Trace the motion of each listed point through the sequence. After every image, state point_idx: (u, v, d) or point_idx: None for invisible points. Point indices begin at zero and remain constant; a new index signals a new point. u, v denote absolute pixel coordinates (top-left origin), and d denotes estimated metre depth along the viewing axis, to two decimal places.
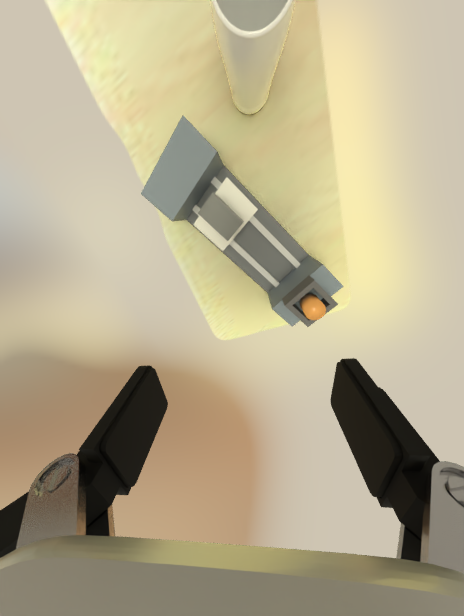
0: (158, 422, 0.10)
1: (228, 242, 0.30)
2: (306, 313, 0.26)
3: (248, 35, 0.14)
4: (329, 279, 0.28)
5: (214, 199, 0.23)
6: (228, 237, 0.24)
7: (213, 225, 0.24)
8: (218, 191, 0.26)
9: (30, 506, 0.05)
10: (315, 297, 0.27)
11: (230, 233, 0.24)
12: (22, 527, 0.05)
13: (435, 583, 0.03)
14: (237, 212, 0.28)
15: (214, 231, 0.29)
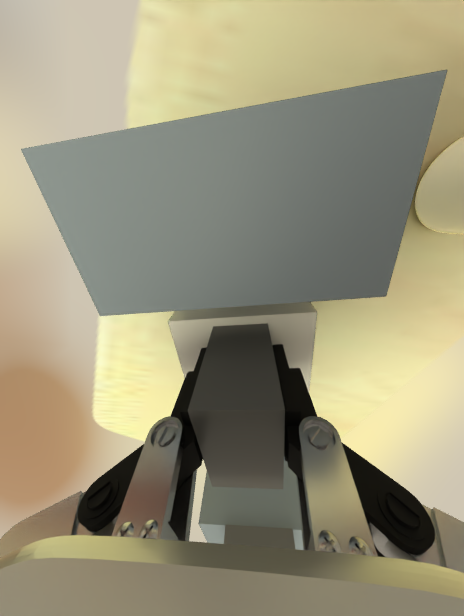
0: None
1: None
2: None
3: None
4: None
5: (270, 425, 0.06)
6: (221, 484, 0.08)
7: (207, 452, 0.07)
8: (275, 318, 0.10)
9: (146, 447, 0.06)
10: None
11: (233, 483, 0.08)
12: (137, 465, 0.06)
13: (435, 583, 0.03)
14: None
15: None
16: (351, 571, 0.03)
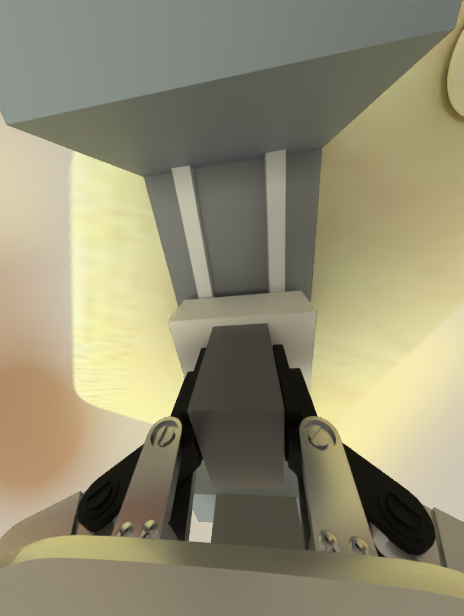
0: None
1: None
2: None
3: None
4: None
5: (270, 424, 0.06)
6: (221, 484, 0.08)
7: (207, 452, 0.07)
8: (275, 318, 0.10)
9: (145, 447, 0.06)
10: None
11: (233, 483, 0.08)
12: (137, 465, 0.06)
13: (435, 583, 0.03)
14: None
15: None
16: (351, 571, 0.03)
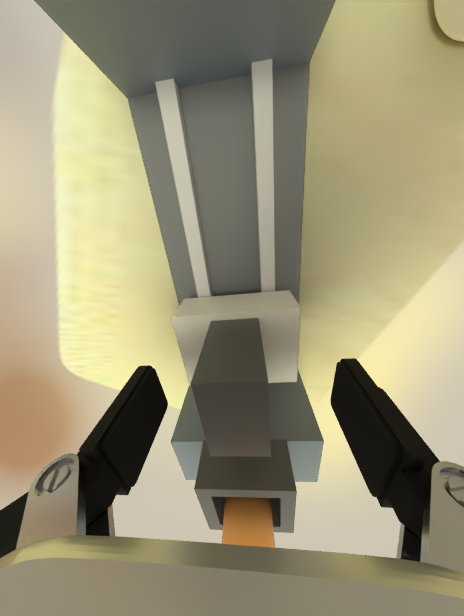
0: (158, 422, 0.10)
1: None
2: None
3: None
4: (308, 463, 0.13)
5: (257, 394, 0.07)
6: (218, 453, 0.09)
7: (206, 422, 0.08)
8: (265, 313, 0.11)
9: (29, 507, 0.05)
10: (268, 515, 0.10)
11: (228, 452, 0.09)
12: (22, 527, 0.05)
13: (435, 583, 0.03)
14: None
15: None
16: (351, 571, 0.03)
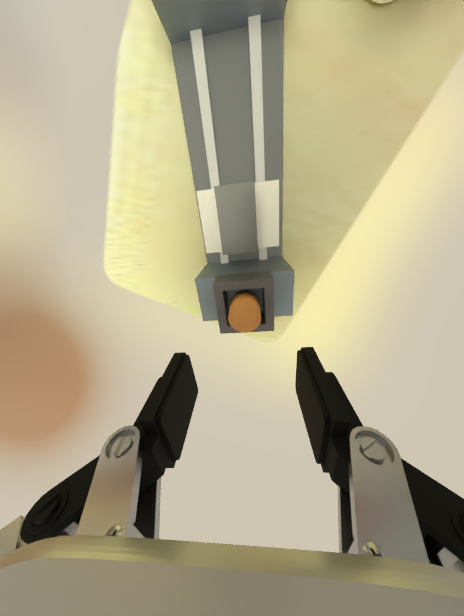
0: (192, 405, 0.10)
1: (220, 249, 0.21)
2: (231, 313, 0.16)
3: None
4: (285, 295, 0.19)
5: (249, 193, 0.14)
6: (227, 251, 0.16)
7: (221, 221, 0.15)
8: (256, 185, 0.18)
9: (100, 463, 0.06)
10: (257, 302, 0.17)
11: (233, 249, 0.16)
12: (92, 482, 0.05)
13: (435, 583, 0.03)
14: (256, 228, 0.19)
15: (215, 223, 0.20)
16: (351, 571, 0.03)
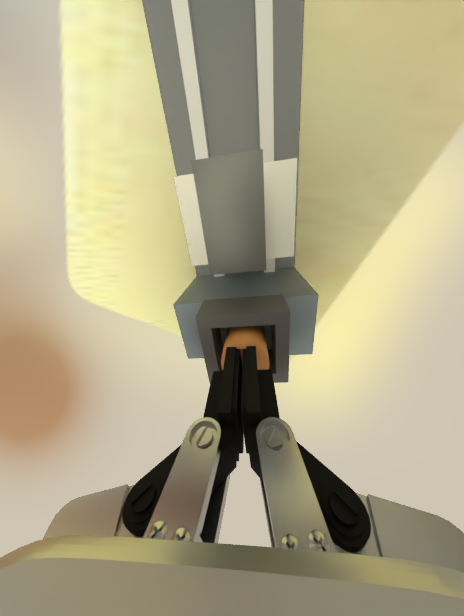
0: None
1: None
2: None
3: None
4: (303, 327, 0.14)
5: (253, 172, 0.08)
6: (217, 270, 0.10)
7: (206, 221, 0.09)
8: (263, 167, 0.12)
9: (184, 444, 0.06)
10: (263, 336, 0.12)
11: (227, 266, 0.10)
12: (175, 462, 0.06)
13: (435, 583, 0.03)
14: None
15: None
16: (351, 571, 0.03)
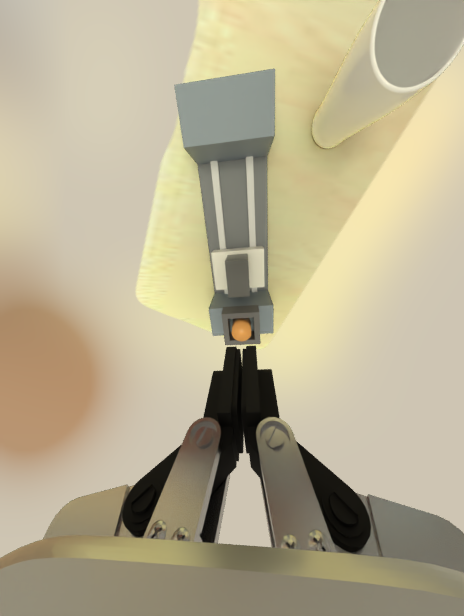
0: None
1: (225, 288, 0.31)
2: (233, 329, 0.27)
3: (375, 71, 0.14)
4: (268, 320, 0.30)
5: (245, 265, 0.24)
6: (231, 295, 0.26)
7: (228, 279, 0.25)
8: (250, 251, 0.28)
9: (184, 444, 0.06)
10: (249, 322, 0.28)
11: (235, 294, 0.26)
12: (175, 462, 0.06)
13: (435, 583, 0.03)
14: (249, 275, 0.30)
15: (222, 272, 0.30)
16: (351, 571, 0.03)
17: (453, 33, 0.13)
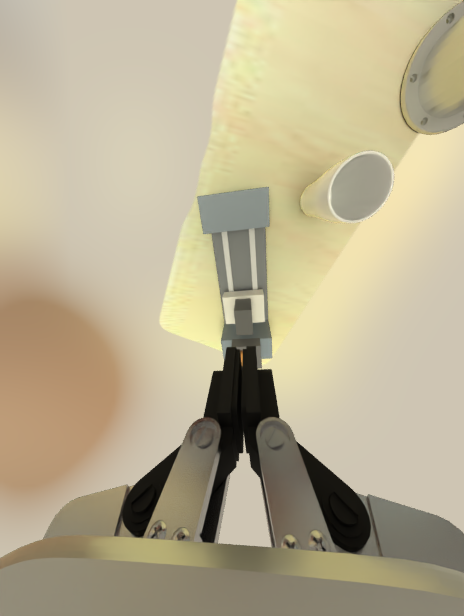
0: None
1: (233, 322, 0.39)
2: (241, 359, 0.35)
3: (332, 212, 0.21)
4: (267, 348, 0.37)
5: (249, 313, 0.32)
6: (238, 334, 0.34)
7: (236, 322, 0.33)
8: (252, 296, 0.36)
9: (184, 444, 0.06)
10: None
11: (241, 333, 0.34)
12: (175, 462, 0.06)
13: (435, 583, 0.03)
14: (253, 314, 0.37)
15: (231, 311, 0.38)
16: (351, 571, 0.03)
17: (383, 187, 0.21)
